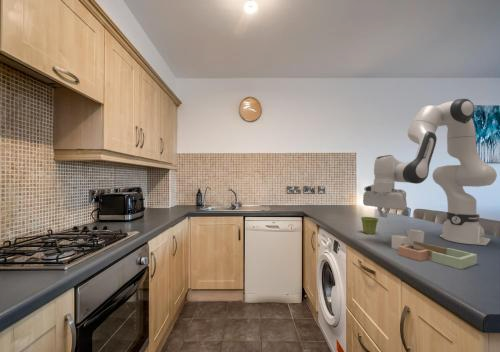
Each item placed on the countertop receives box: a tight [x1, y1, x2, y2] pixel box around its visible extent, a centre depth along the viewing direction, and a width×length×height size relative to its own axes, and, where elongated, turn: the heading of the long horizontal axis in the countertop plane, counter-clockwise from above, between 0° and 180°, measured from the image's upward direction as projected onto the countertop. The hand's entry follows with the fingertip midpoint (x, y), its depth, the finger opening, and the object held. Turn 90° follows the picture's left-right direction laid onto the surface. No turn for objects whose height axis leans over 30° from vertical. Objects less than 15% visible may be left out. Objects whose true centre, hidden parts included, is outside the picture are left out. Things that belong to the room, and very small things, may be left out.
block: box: [391, 234, 410, 250], centre depth 109 cm, size 5×5×6 cm
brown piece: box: [401, 241, 447, 261], centre depth 101 cm, size 10×12×4 cm
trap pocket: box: [397, 245, 428, 262], centre depth 97 cm, size 5×8×4 cm, turn 27°
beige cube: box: [406, 228, 425, 247], centre depth 115 cm, size 7×7×7 cm
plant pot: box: [360, 216, 379, 235], centre depth 139 cm, size 9×9×9 cm
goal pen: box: [430, 247, 478, 270], centre depth 92 cm, size 12×9×4 cm
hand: (383, 217), depth 116 cm, fingers closed
